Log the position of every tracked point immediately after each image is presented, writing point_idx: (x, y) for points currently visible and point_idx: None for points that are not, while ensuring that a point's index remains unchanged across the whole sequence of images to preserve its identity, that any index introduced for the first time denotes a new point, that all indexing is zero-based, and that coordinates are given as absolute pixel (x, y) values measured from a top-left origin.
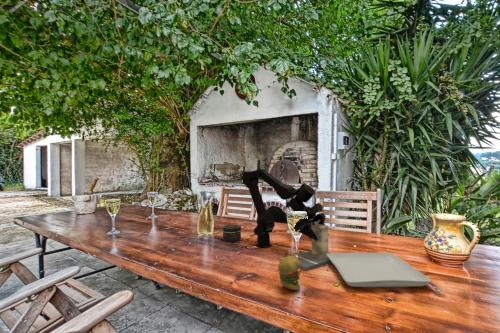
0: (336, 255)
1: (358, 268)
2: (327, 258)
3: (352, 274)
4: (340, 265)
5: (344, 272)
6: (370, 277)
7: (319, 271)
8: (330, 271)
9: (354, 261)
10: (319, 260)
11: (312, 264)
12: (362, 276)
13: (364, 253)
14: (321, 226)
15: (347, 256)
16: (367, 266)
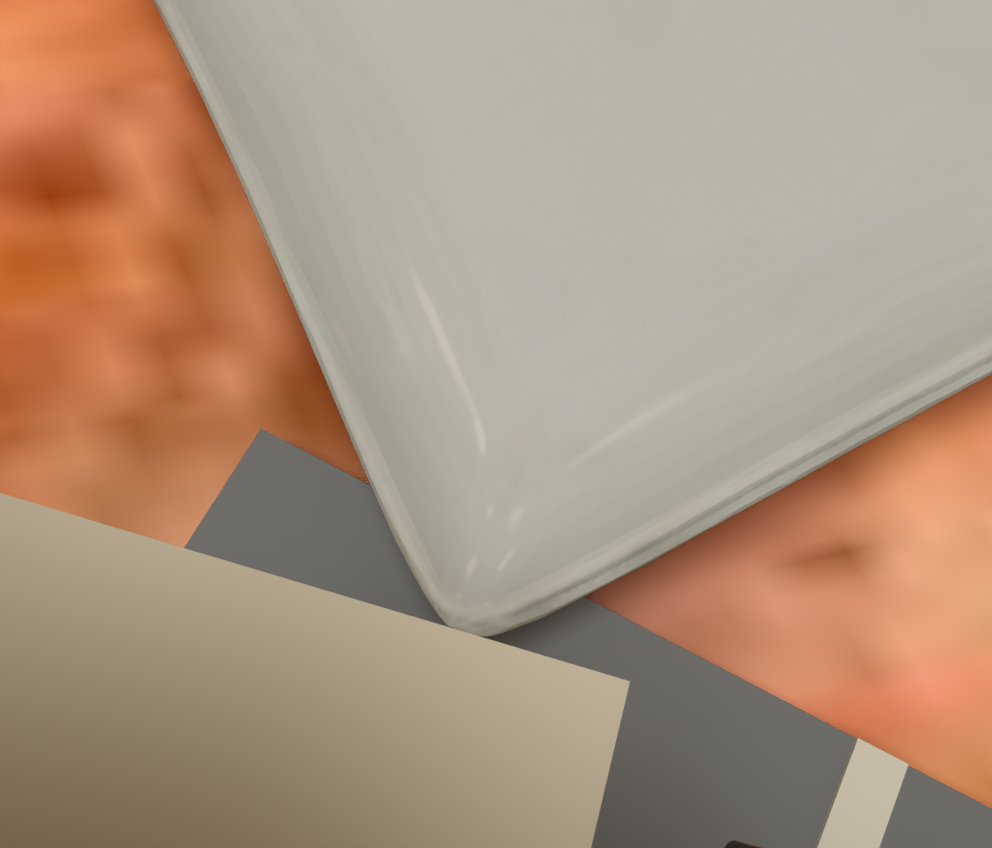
0: (402, 441)
1: (648, 117)
2: None
3: (923, 159)
4: (676, 354)
5: (983, 241)
6: None
7: (982, 661)
8: (872, 492)
9: (397, 187)
10: (649, 755)
11: (956, 832)
12: (911, 49)
13: (182, 6)
14: (240, 816)
15: (340, 265)
16: (505, 27)
